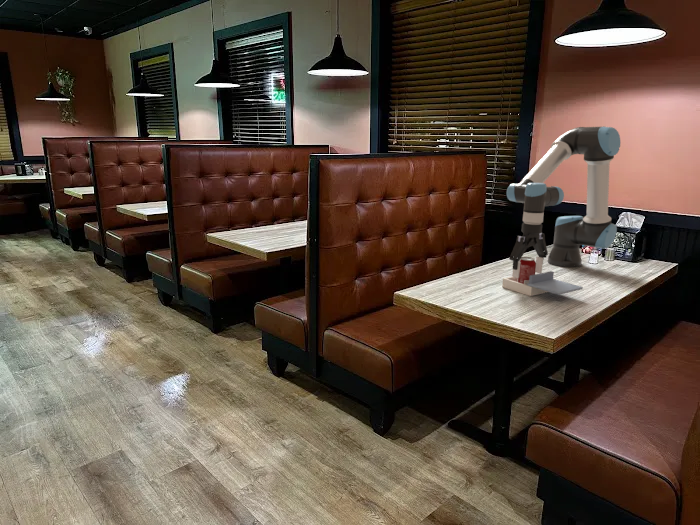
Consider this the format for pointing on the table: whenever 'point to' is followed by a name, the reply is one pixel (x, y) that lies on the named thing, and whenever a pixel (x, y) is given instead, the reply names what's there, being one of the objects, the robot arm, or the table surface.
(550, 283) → the lid
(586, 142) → the robot arm
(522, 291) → the mailer box
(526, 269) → the soda can
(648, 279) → the table surface
